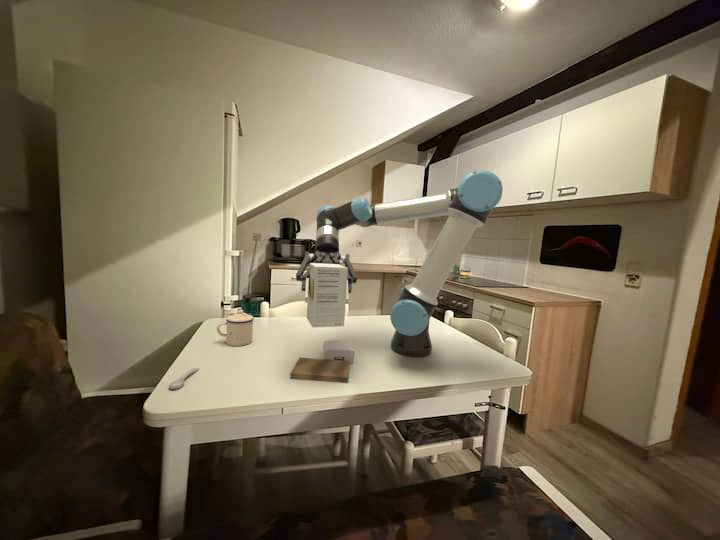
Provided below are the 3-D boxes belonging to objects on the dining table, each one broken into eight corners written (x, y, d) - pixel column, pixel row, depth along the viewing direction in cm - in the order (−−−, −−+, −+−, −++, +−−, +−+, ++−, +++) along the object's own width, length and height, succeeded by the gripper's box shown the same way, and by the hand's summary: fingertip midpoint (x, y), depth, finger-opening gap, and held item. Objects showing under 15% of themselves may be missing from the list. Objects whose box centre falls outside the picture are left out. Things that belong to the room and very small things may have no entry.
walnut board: (349, 365, 91) (350, 361, 91) (347, 382, 80) (348, 377, 80) (299, 362, 91) (299, 357, 91) (290, 378, 80) (290, 373, 80)
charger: (347, 347, 107) (353, 364, 93) (322, 346, 106) (324, 364, 91) (348, 334, 107) (354, 350, 92) (323, 334, 105) (325, 350, 91)
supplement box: (305, 318, 87) (308, 262, 85) (335, 317, 90) (338, 263, 89) (312, 328, 78) (315, 266, 76) (344, 326, 81) (348, 267, 80)
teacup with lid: (253, 337, 110) (254, 307, 109) (252, 346, 102) (253, 313, 101) (218, 338, 106) (219, 307, 105) (214, 347, 98) (215, 314, 97)
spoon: (165, 391, 70) (166, 383, 70) (191, 372, 82) (191, 365, 82) (178, 392, 70) (178, 383, 70) (202, 373, 82) (202, 366, 82)
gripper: (360, 253, 99) (365, 308, 85) (291, 248, 95) (284, 306, 82) (364, 237, 93) (369, 294, 80) (290, 232, 90) (283, 291, 76)
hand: (326, 300), depth 81 cm, fingers closed on supplement box, 10 cm apart
